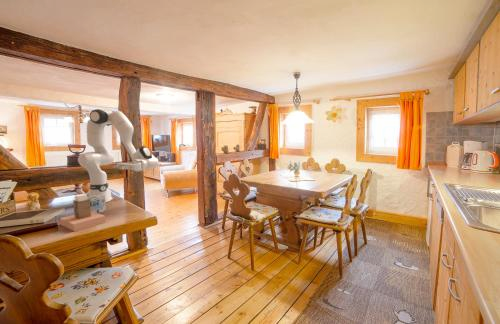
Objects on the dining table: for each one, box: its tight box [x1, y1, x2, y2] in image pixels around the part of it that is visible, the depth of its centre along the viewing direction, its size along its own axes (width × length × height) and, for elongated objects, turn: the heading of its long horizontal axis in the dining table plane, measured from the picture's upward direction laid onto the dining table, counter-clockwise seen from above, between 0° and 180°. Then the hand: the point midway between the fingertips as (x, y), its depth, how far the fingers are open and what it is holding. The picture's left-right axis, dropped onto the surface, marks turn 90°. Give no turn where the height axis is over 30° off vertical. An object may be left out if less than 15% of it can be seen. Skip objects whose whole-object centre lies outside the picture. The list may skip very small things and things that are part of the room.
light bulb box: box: [87, 195, 107, 214], centre depth 160 cm, size 11×7×11 cm, turn 168°
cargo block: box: [74, 193, 87, 202], centre depth 138 cm, size 4×4×3 cm
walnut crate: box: [72, 199, 91, 219], centre depth 139 cm, size 6×6×10 cm
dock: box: [59, 211, 106, 232], centre depth 140 cm, size 18×16×4 cm
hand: (117, 167), depth 159 cm, fingers open, 8 cm apart
